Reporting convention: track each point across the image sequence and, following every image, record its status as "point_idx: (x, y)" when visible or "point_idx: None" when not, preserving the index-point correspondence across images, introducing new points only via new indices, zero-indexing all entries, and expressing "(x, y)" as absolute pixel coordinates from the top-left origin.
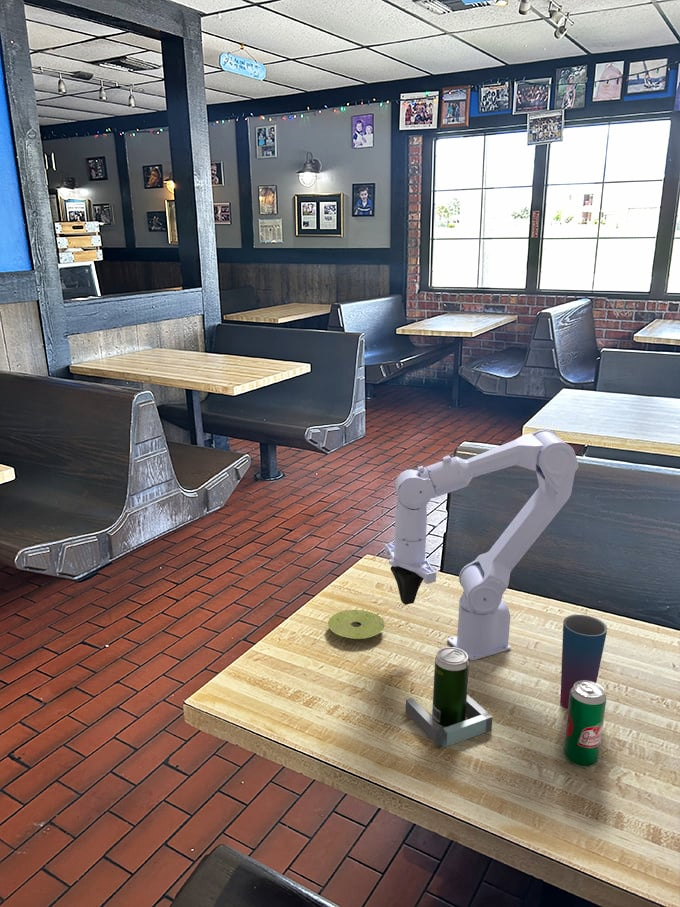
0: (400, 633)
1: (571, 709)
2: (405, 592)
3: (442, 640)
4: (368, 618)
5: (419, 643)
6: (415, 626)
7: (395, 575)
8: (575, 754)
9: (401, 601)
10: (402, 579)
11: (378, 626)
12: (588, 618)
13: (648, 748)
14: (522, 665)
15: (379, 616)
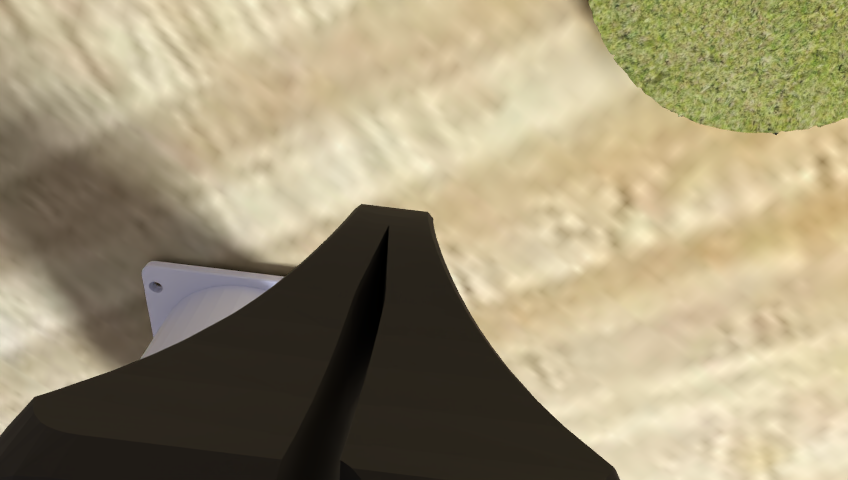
0: (558, 149)
1: None
2: (283, 281)
3: None
4: (798, 49)
5: (410, 168)
6: (559, 256)
7: (453, 410)
8: None
9: (423, 213)
10: (133, 395)
11: (657, 39)
12: None
13: None
14: (62, 381)
15: (750, 130)
